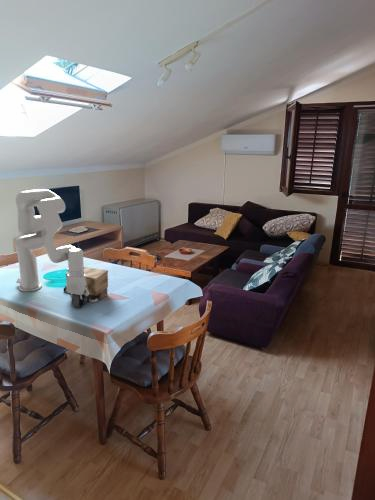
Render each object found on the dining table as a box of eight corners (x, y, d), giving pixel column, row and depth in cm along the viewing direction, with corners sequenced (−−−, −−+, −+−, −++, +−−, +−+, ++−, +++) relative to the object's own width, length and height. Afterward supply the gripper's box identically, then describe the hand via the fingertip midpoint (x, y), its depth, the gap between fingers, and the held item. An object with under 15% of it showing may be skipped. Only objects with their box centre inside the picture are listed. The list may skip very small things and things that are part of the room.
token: (86, 302, 197) (86, 299, 196) (92, 298, 201) (91, 296, 201) (94, 303, 195) (94, 301, 195) (99, 300, 200) (99, 297, 199)
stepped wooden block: (67, 298, 200) (65, 273, 195) (80, 289, 212) (79, 266, 207) (96, 304, 195) (95, 278, 190) (108, 294, 207) (108, 270, 202)
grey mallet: (72, 306, 189) (71, 294, 187) (86, 297, 201) (85, 285, 199) (79, 308, 188) (78, 295, 186) (92, 298, 200) (92, 286, 198)
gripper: (57, 272, 184) (60, 305, 189) (86, 277, 179) (88, 310, 185) (66, 267, 191) (68, 299, 196) (94, 272, 186) (95, 304, 191)
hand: (78, 304), depth 190 cm, fingers closed on grey mallet, 4 cm apart
